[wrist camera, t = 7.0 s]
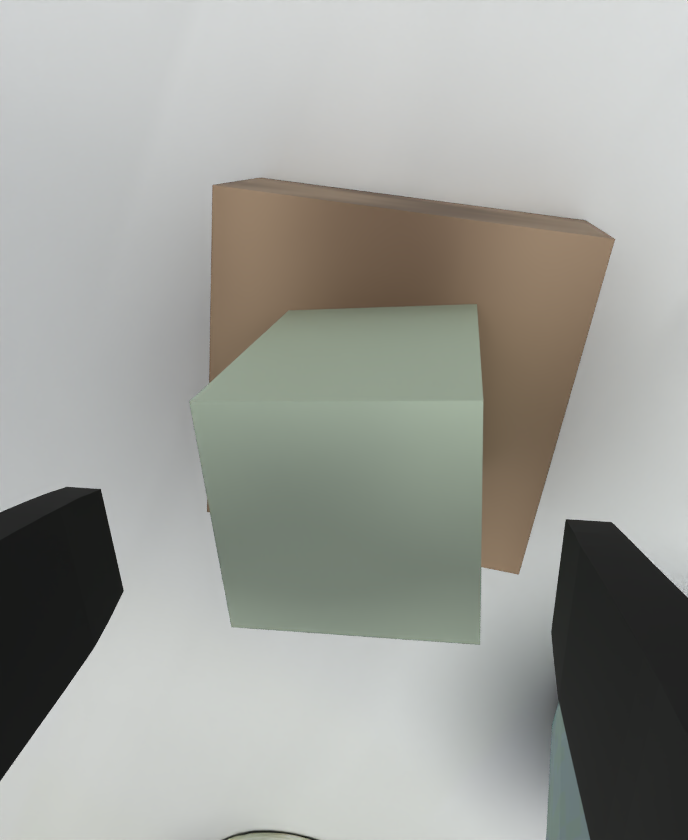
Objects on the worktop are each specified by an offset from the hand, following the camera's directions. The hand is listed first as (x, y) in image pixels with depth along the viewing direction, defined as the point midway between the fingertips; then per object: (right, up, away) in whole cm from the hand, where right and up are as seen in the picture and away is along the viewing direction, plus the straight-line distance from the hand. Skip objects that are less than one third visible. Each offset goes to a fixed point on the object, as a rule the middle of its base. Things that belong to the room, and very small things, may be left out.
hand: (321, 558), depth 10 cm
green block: (+1, +3, +6) cm, 7 cm away
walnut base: (+2, +4, +10) cm, 11 cm away
